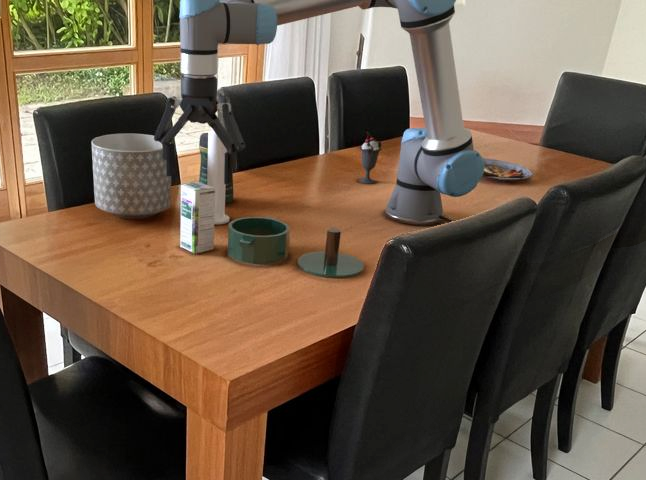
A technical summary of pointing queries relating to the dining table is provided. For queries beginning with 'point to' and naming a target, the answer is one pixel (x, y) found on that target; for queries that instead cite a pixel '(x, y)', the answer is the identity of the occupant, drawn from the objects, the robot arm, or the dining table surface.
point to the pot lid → (331, 260)
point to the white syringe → (217, 175)
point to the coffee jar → (204, 167)
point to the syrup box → (197, 217)
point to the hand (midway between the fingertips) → (199, 179)
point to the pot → (258, 240)
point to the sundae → (369, 157)
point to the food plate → (505, 170)
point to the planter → (130, 175)
